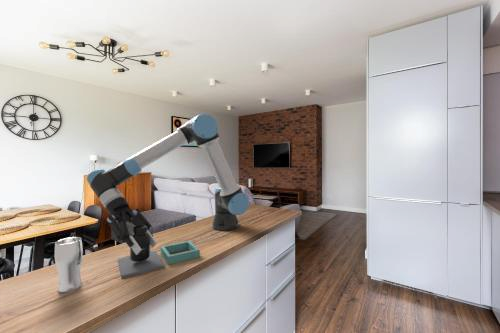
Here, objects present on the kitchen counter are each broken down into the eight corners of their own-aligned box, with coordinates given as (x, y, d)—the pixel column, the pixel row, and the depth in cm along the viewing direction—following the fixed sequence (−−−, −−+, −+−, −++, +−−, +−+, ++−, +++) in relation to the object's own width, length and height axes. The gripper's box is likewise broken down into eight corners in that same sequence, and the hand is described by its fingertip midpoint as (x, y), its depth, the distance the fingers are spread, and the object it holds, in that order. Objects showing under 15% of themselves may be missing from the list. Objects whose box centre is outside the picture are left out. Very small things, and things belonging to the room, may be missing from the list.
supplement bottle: (137, 263, 85) (137, 230, 85) (126, 259, 89) (125, 227, 88) (153, 256, 91) (153, 225, 91) (142, 253, 95) (142, 223, 94)
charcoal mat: (155, 253, 101) (155, 250, 101) (164, 267, 87) (164, 265, 87) (117, 261, 93) (117, 258, 93) (121, 278, 80) (121, 275, 80)
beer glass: (53, 296, 70) (51, 246, 69) (59, 284, 76) (57, 238, 76) (82, 289, 73) (80, 242, 73) (85, 279, 79) (83, 235, 79)
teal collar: (189, 247, 107) (189, 240, 107) (199, 256, 97) (199, 249, 97) (160, 253, 100) (160, 246, 100) (168, 264, 90) (168, 256, 90)
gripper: (130, 203, 104) (160, 245, 99) (85, 214, 86) (118, 265, 81) (139, 192, 102) (170, 234, 97) (94, 200, 84) (129, 252, 78)
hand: (147, 248), depth 89 cm, fingers closed on supplement bottle, 7 cm apart
